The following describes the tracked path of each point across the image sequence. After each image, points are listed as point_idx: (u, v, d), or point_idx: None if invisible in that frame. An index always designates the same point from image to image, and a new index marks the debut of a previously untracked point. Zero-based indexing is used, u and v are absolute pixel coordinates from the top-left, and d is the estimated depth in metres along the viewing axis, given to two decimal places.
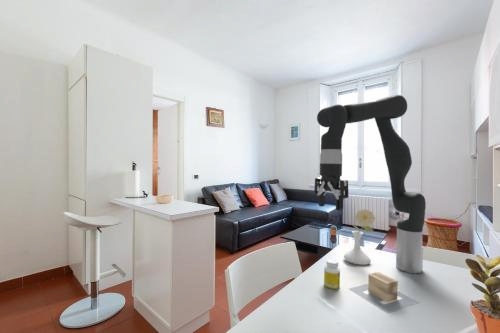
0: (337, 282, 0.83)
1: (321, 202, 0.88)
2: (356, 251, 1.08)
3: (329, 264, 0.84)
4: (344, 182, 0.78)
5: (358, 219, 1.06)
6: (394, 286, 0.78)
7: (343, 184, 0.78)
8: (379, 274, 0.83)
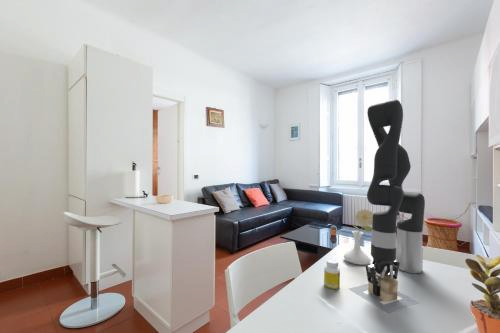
0: (337, 282, 0.83)
1: None
2: (356, 251, 1.08)
3: (329, 264, 0.84)
4: None
5: (358, 219, 1.06)
6: (394, 286, 0.78)
7: None
8: (379, 274, 0.83)
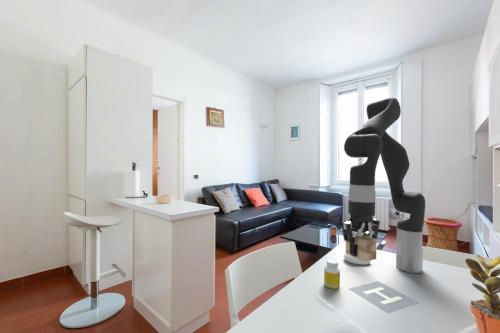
0: (337, 282, 0.83)
1: None
2: None
3: (329, 264, 0.84)
4: None
5: None
6: (372, 244, 0.70)
7: None
8: None
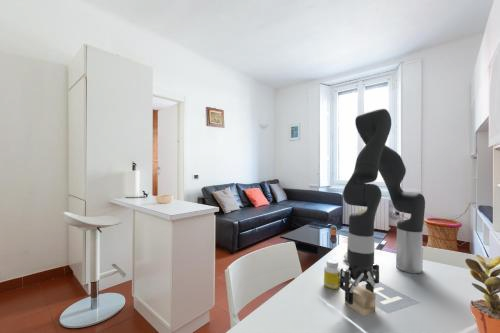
0: (337, 282, 0.83)
1: None
2: None
3: (329, 264, 0.84)
4: None
5: None
6: (371, 300, 0.71)
7: None
8: (357, 286, 0.76)
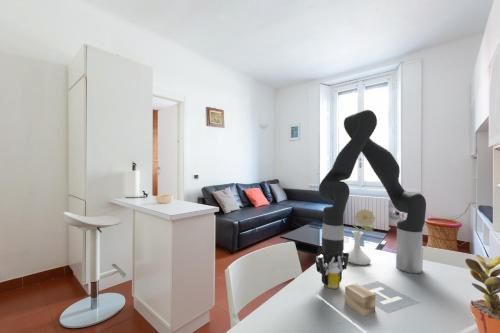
0: (337, 282, 0.83)
1: None
2: (356, 251, 1.08)
3: None
4: None
5: (358, 219, 1.06)
6: (371, 300, 0.71)
7: None
8: (357, 286, 0.76)
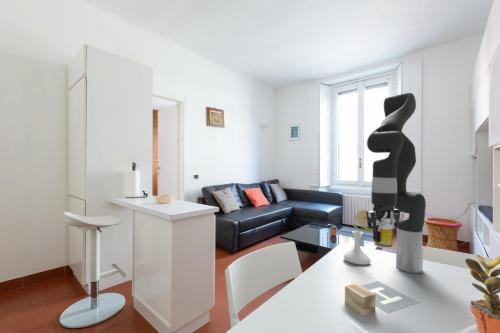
0: (390, 238, 0.78)
1: None
2: (356, 251, 1.08)
3: None
4: None
5: (358, 219, 1.06)
6: (371, 300, 0.71)
7: None
8: (357, 286, 0.76)
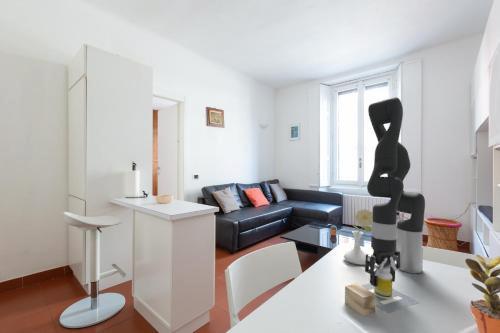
0: (390, 289, 0.78)
1: None
2: (356, 251, 1.08)
3: None
4: None
5: (358, 219, 1.06)
6: (371, 300, 0.71)
7: None
8: (357, 286, 0.76)
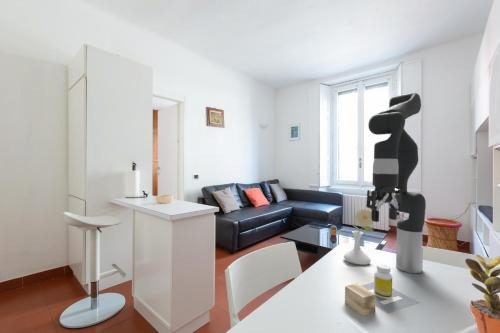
0: (390, 289, 0.78)
1: None
2: (356, 251, 1.08)
3: (381, 269, 0.79)
4: None
5: (358, 219, 1.06)
6: (371, 300, 0.71)
7: None
8: (357, 286, 0.76)
